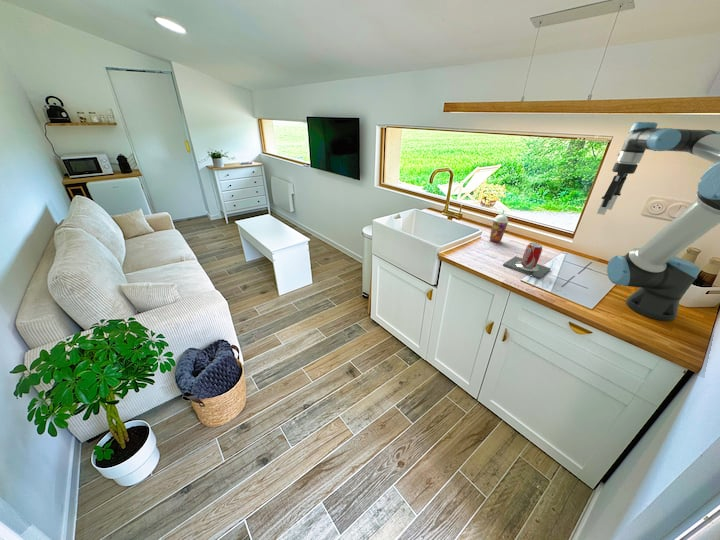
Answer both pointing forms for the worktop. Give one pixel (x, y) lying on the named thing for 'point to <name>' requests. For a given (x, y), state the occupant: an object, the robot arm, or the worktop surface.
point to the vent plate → (535, 272)
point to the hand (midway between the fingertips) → (604, 211)
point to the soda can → (531, 255)
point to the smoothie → (498, 228)
